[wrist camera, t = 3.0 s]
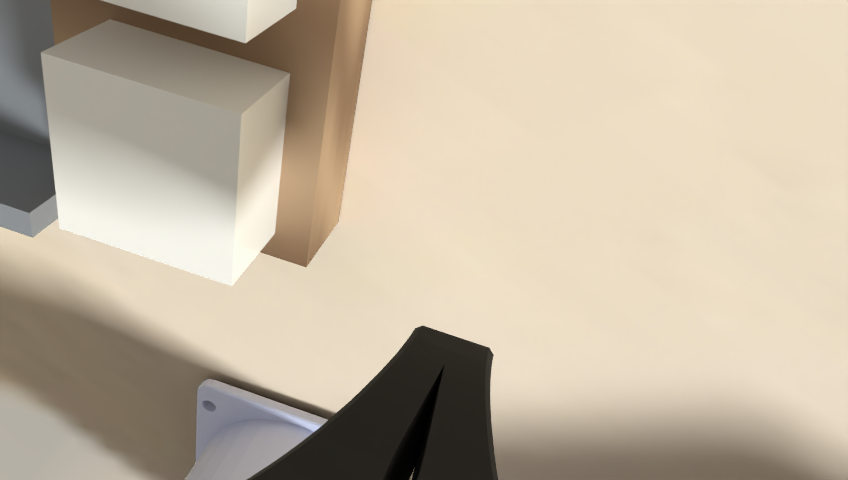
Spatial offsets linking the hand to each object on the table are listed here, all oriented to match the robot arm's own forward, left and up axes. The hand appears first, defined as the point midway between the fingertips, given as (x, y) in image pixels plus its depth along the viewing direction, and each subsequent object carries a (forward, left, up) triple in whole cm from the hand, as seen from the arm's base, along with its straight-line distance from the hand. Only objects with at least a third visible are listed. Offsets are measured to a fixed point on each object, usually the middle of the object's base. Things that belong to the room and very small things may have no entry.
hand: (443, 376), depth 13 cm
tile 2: (0, +8, -5) cm, 9 cm away
